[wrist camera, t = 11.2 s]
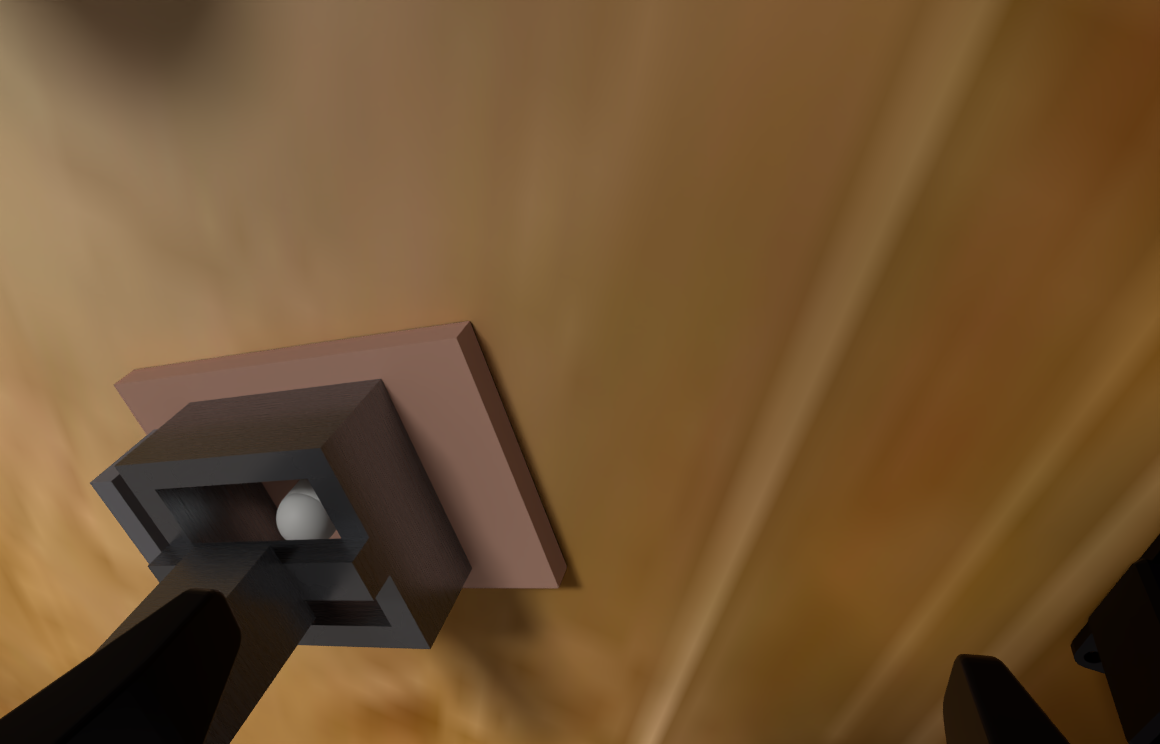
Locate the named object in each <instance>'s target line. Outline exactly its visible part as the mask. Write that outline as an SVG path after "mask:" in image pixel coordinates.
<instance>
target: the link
mask: <svg viewBox="0 0 1160 744" xmlns="http://www.w3.org/2000/svg"><path fill="white" fill-rule="evenodd" d="M114 467H115V468H116V469H117V471H118V472H119V474H120V475H121V476H122V478H123V479H124V481H125V482H126V484H127V485H128V486H129V488H130V489H131V491H132V492H133V493H134V495H135V496H136V498H137V499H138V500H139V502H140V503H141V505H142V506H143V508H144V509H145V510H146V512H147V513H148V515H149V516H150V517H151V519H152V520H153V522H154V523H155V524H156V526H157V527H158V529H159V530H160V532H161V533H162V534H163V536H164V537H165V539H166V540H167V541H168V543H169V545H168V546H167V547H166V548H165V549H164V550H163V551H162V552H161V553H160V554H159V555H158V556H157V557H156V558H155V559H154V560H153V561H152V562H151V563H150V564H149V565H148V567H149V569H150V570H151V572H152V573H153V574H154V576H155V577H156V578H157V580H158V581H159V582H160V583H159V584H158V585H157V586H156V588H155V589H154V590H153V591H152V592H151V593H150V594H149V595H148V596H147V597H146V598H145V599H144V600H143V601H142V602H141V604H140V605H139V606H138V607H137V608H136V609H135V610H134V611H133V612H132V613H131V614H130V615H129V616H128V617H127V618H126V620H125V621H124V622H123V623H122V624H121V625H120V626H119V627H118V628H117V629H116V630H115V631H114V632H113V633H112V634H111V636H110V637H109V638H108V639H107V640H106V641H105V642H104V643H103V644H102V645H101V646H100V647H99V648H98V649H97V650H96V652H97V651H98V650H100V649H101V648H103V647H104V646H106V645H107V644H108V643H110V642H111V641H113V640H114V639H116V638H117V637H119V636H120V635H121V634H123V633H124V632H126V631H127V630H129V629H130V628H131V627H133V626H134V625H136V624H137V623H139V622H140V621H141V620H143V619H144V618H146V617H147V616H149V615H150V614H152V613H153V612H154V611H156V610H157V609H159V608H160V607H162V606H163V605H164V604H166V603H167V602H169V601H170V600H172V599H173V598H175V597H176V596H177V595H179V594H180V593H182V592H184V591H185V590H188V589H191V588H204V589H215V590H219V591H220V592H222V593H223V594H224V596H225V597H226V599H227V601H228V603H229V605H230V608H231V610H232V612H233V614H234V616H235V618H236V620H237V622H238V624H239V626H240V629H241V634H242V637H241V645H240V649H239V652H238V655H237V657H236V660H235V663H234V665H233V668H232V671H231V673H230V676H229V678H228V681H227V684H226V686H225V689H224V692H223V694H222V697H221V700H220V702H219V705H218V708H217V710H216V713H215V715H214V718H213V721H212V723H211V726H210V729H209V731H208V734H207V737H206V739H205V742H204V744H230V742H231V741H232V739H233V738H234V736H235V735H236V733H237V732H238V731H239V729H240V728H241V726H242V725H243V723H244V722H245V720H246V719H247V717H248V716H249V715H250V713H251V712H252V710H253V709H254V707H255V706H256V704H257V703H258V702H259V700H260V699H261V697H262V696H263V694H264V693H265V691H266V690H267V688H268V687H269V686H270V684H271V683H272V681H273V680H274V678H275V677H276V675H277V674H278V673H279V671H280V670H281V668H282V667H283V665H284V664H285V662H286V661H287V659H288V658H289V657H290V655H291V654H292V652H293V651H294V649H295V648H296V646H297V645H317V646H348V647H380V648H412V649H431V647H432V645H433V643H434V641H435V639H436V637H437V635H438V634H439V632H440V630H441V628H442V626H443V624H444V622H445V620H446V618H447V616H448V614H449V612H450V610H451V608H452V606H453V605H454V603H455V601H456V599H457V597H458V595H459V593H460V591H461V589H462V587H463V585H464V583H465V581H466V579H467V578H468V576H469V574H470V572H471V570H472V567H471V565H470V563H469V561H468V559H467V556H466V554H465V552H464V550H463V548H462V546H461V544H460V542H459V540H458V538H457V536H456V533H455V531H454V529H453V527H452V525H451V523H450V521H449V519H448V517H447V515H446V513H445V510H444V508H443V506H442V504H441V502H440V500H439V498H438V496H437V494H436V492H435V490H434V487H433V485H432V483H431V481H430V479H429V477H428V475H427V473H426V471H425V469H424V467H423V465H422V462H421V460H420V458H419V456H418V454H417V452H416V450H415V448H414V446H413V444H412V442H411V439H410V437H409V435H408V433H407V431H406V429H405V427H404V425H403V423H402V421H401V419H400V416H399V414H398V412H397V410H396V408H395V406H394V404H393V402H392V400H391V398H390V396H389V393H388V391H387V389H386V387H385V385H384V383H383V381H382V379H374V380H366V381H358V382H350V383H342V384H334V385H326V386H318V387H310V388H302V389H294V390H286V391H278V392H270V393H262V394H254V395H246V396H238V397H230V398H222V399H214V400H206V401H198V402H190V403H189V404H187V405H186V406H185V407H184V408H183V409H181V410H180V411H179V412H178V413H177V414H176V415H174V416H173V417H172V418H171V419H170V420H168V421H167V422H166V423H165V424H164V425H162V426H161V427H160V428H159V429H158V430H156V431H155V432H154V433H153V434H152V435H150V436H149V437H148V438H147V439H146V440H145V441H143V442H142V443H141V444H140V445H139V446H137V447H136V448H135V449H134V450H133V451H131V452H130V453H129V454H128V455H127V456H125V457H124V458H123V459H122V460H121V461H119V462H118V463H117V464H116V465H115V466H114ZM297 479H308V481H309V482H310V484H311V486H312V488H313V489H314V491H315V493H316V495H317V496H318V498H319V500H320V502H321V503H322V505H323V507H324V509H325V510H326V512H327V514H328V516H329V517H330V519H331V521H332V523H333V524H334V526H335V528H336V530H337V531H338V533H339V535H340V537H341V538H339V539H308V540H286V539H284V537H283V536H282V535H281V534H280V532H279V530H278V527H277V523H276V514H277V510H278V509H277V507H276V505H275V504H274V502H273V501H272V499H271V497H270V496H269V494H268V492H267V491H266V489H265V487H264V486H263V484H262V482H269V481H283V480H297ZM96 652H95V653H96Z"/></svg>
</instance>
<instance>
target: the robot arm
mask: <svg viewBox="0 0 1160 744" xmlns="http://www.w3.org/2000/svg"><path fill="white" fill-rule="evenodd" d="M241 637H242V634H241V629H240V626H239V624H238V622H237V620H236V618H235V616H234V614H233V612H232V610H231V608H230V605H229V603H228V601H227V599H226V597H225V596H224V594H223V593H222V592H220V591H219V590H215V589H204V588H191V589H188V590H185V591H184V592H182V593H180V594H179V595H177V596H176V597H175V598H173V599H172V600H170V601H169V602H167V603H166V604H164V605H163V606H162V607H160V608H159V609H157V610H156V611H154V612H153V613H152V614H150V615H149V616H147V617H146V618H144V619H143V620H141V621H140V622H139V623H137V624H136V625H134V626H133V627H131V628H130V629H129V630H127V631H126V632H124V633H123V634H121V635H120V636H119V637H117V638H116V639H114V640H113V641H111V642H110V643H108V644H107V645H106V646H104V647H103V648H101V649H100V650H98V651H97V652H96V653H94V654H93V655H91V656H90V657H88V658H87V659H85V660H84V661H83V662H81V663H80V664H78V665H77V666H75V667H74V668H73V669H71V670H70V671H68V672H67V673H65V674H64V675H62V676H61V677H60V678H58V679H57V680H55V681H54V682H52V683H51V684H50V685H48V686H47V687H45V688H44V689H42V690H41V691H40V692H38V693H37V694H35V695H34V696H32V697H31V698H29V699H28V700H27V701H25V702H24V703H22V704H21V705H19V706H18V707H17V708H15V709H14V710H12V711H11V712H9V713H8V714H6V715H5V716H4V717H2V718H1V719H0V744H204V742H205V739H206V737H207V734H208V731H209V729H210V726H211V723H212V721H213V718H214V715H215V713H216V710H217V708H218V705H219V702H220V700H221V697H222V694H223V692H224V689H225V686H226V684H227V681H228V678H229V676H230V673H231V671H232V668H233V665H234V663H235V660H236V657H237V655H238V652H239V649H240V645H241ZM1071 648H1072V652H1073V656H1074V659H1075V661H1076V662H1077V663H1078V664H1079V665H1081V666H1083V667H1085V668H1088V669H1091V670H1095V671H1098V672H1101V673H1105V675H1106V678H1107V681H1108V684H1109V687H1110V690H1111V693H1112V697H1113V700H1114V703H1115V706H1116V709H1117V712H1118V715H1119V718H1120V721H1121V724H1122V728H1123V731H1124V734H1125V737H1126V740H1127V742H1128V743H1129V744H1160V534H1159V536H1158V537H1157V538H1156V539H1155V541H1154V542H1153V543H1152V544H1151V546H1150V547H1149V548H1148V549H1147V550H1146V552H1145V553H1144V554H1143V555H1142V557H1141V558H1140V559H1139V560H1138V561H1137V562H1135V563H1133V564H1132V565H1131V566H1130V568H1129V569H1128V570H1127V571H1126V573H1125V574H1124V575H1123V576H1122V578H1121V579H1120V580H1119V581H1118V582H1117V584H1116V585H1115V586H1114V587H1113V589H1112V590H1111V591H1110V592H1109V594H1108V595H1107V596H1106V597H1105V598H1104V600H1103V601H1102V602H1101V603H1100V605H1099V606H1098V607H1097V608H1096V610H1095V611H1094V612H1093V613H1092V614H1091V616H1090V617H1089V619H1088V623H1087V624H1086V625H1085V626H1084V628H1083V629H1082V630H1081V631H1080V633H1079V634H1078V635H1077V636H1076V637H1075V639H1074V640H1073V641H1072V644H1071ZM1092 651H1094V652H1092ZM943 718H944V726H945V734H946V741H947V744H1070V743H1069V742H1068V741H1067V739H1066V738H1065V737H1064V736H1063V734H1062V733H1061V732H1060V731H1059V730H1058V728H1057V727H1056V726H1055V725H1054V724H1053V722H1052V721H1051V720H1050V719H1049V718H1048V716H1047V715H1046V714H1045V713H1044V711H1043V710H1042V709H1041V708H1040V707H1039V705H1038V704H1037V703H1036V702H1035V701H1034V699H1033V698H1032V697H1031V696H1030V695H1029V693H1028V692H1027V691H1026V690H1025V688H1024V687H1023V686H1022V685H1021V684H1020V682H1019V681H1018V680H1017V679H1016V678H1015V676H1014V675H1013V674H1012V673H1011V672H1010V670H1009V669H1008V668H1007V667H1006V665H1005V664H1004V663H1003V662H1002V661H1000V660H999V659H997V658H996V657H992V656H983V655H972V654H960V655H959V656H958V657H957V658H956V659H955V661H954V664H953V668H952V671H951V675H950V678H949V682H948V685H947V688H946V692H945V695H944V701H943Z"/></svg>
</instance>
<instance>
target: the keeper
mask: <svg viewBox="0 0 1160 744" xmlns="http://www.w3.org/2000/svg"><path fill="white" fill-rule="evenodd" d="M374 379H382V381H383V383H384V385H385V387H386V389H387V391H388V393H389V396H390V398H391V400H392V402H393V404H394V406H395V408H396V410H397V412H398V414H399V416H400V419H401V421H402V423H403V425H404V427H405V429H406V431H407V433H408V435H409V437H410V439H411V442H412V444H413V446H414V448H415V450H416V452H417V454H418V456H419V458H420V460H421V462H422V465H423V467H424V469H425V471H426V473H427V475H428V477H429V479H430V481H431V483H432V485H433V487H434V490H435V492H436V494H437V496H438V498H439V500H440V502H441V504H442V506H443V508H444V510H445V513H446V515H447V517H448V519H449V521H450V523H451V525H452V527H453V529H454V531H455V533H456V536H457V538H458V540H459V542H460V544H461V546H462V548H463V550H464V552H465V554H466V556H467V559H468V561H469V563H470V565H471V567H472V570H471V572H470V574H469V576H468V578H467V579H466V581H465V583H464V585H463V587H462V588H559V587H560V584H561V581H562V579H563V576H564V574H565V571H566V568H567V566H566V563H565V561H564V558H563V556H562V553H561V551H560V548H559V545H558V543H557V540H556V538H555V535H554V533H553V530H552V528H551V525H550V523H549V520H548V518H547V515H546V513H545V510H544V508H543V505H542V503H541V500H540V497H539V495H538V492H537V490H536V487H535V485H534V482H533V480H532V477H531V475H530V472H529V470H528V467H527V465H526V462H525V460H524V457H523V454H522V452H521V449H520V447H519V444H518V442H517V439H516V437H515V434H514V432H513V429H512V427H511V424H510V422H509V419H508V417H507V414H506V411H505V409H504V406H503V404H502V401H501V399H500V396H499V394H498V391H497V389H496V386H495V384H494V381H493V379H492V376H491V374H490V371H489V368H488V366H487V363H486V361H485V358H484V356H483V353H482V351H481V348H480V346H479V343H478V341H477V338H476V336H475V333H474V331H473V328H472V326H471V323H470V321H466V322H459V323H453V324H446V325H439V326H432V327H425V328H418V329H411V330H404V331H397V332H391V333H384V334H377V335H370V336H363V337H356V338H349V339H342V340H335V341H329V342H322V343H315V344H308V345H301V346H294V347H287V348H280V349H273V350H267V351H260V352H253V353H246V354H239V355H232V356H225V357H218V358H212V359H205V360H198V361H191V362H184V363H177V364H170V365H163V366H156V367H150V368H143V369H136V370H133V371H132V372H130V373H129V374H128V375H126V376H125V377H123V378H122V379H121V380H119V381H118V382H117V383H115V384H114V386H115V388H116V389H117V391H118V392H119V394H120V395H121V397H122V398H123V400H124V401H125V403H126V404H127V406H128V407H129V409H130V410H131V412H132V413H133V415H134V416H135V418H136V419H137V421H138V422H139V424H140V425H141V427H142V428H143V430H144V431H145V433H146V434H147V436H145V437H144V438H143V439H142V440H141V441H139V442H138V443H137V444H136V445H135V446H133V447H132V448H131V449H130V450H129V451H127V452H126V453H125V454H124V455H123V456H121V457H120V458H119V459H118V460H117V461H116V462H114V463H113V464H112V465H111V466H110V467H108V468H107V469H106V470H105V471H104V472H102V473H101V474H100V475H99V476H98V477H96V478H95V479H94V480H93V481H92V482H90V484H91V485H92V487H93V488H94V489H95V491H96V492H97V493H98V495H99V496H100V497H101V499H102V500H103V502H104V503H105V504H106V506H107V507H108V508H109V510H110V511H111V513H112V514H113V515H114V517H115V518H116V519H117V521H118V522H119V523H120V525H121V526H122V528H123V529H124V530H125V532H126V533H127V534H128V536H129V537H130V539H131V540H132V541H133V543H134V544H135V545H136V547H137V548H138V549H139V551H140V552H141V554H142V555H143V556H144V558H145V559H146V560H147V562H148V563H149V564H150V563H151V562H152V561H153V560H154V559H155V558H156V557H157V556H158V555H159V554H160V553H161V552H162V551H163V550H164V549H165V548H166V547H167V546H168V545H169V543H168V541H167V540H166V539H165V537H164V536H163V534H162V533H161V532H160V530H159V529H158V527H157V526H156V524H155V523H154V522H153V520H152V519H151V517H150V516H149V515H148V513H147V512H146V510H145V509H144V508H143V506H142V505H141V503H140V502H139V500H138V499H137V498H136V496H135V495H134V493H133V492H132V491H131V489H130V488H129V486H128V485H127V484H126V482H125V481H124V479H123V478H122V476H121V475H120V474H119V472H118V471H117V469H116V468H115V467H114V466H115V465H116V464H117V463H118V462H119V461H121V460H122V459H123V458H124V457H125V456H127V455H128V454H129V453H130V452H131V451H133V450H134V449H135V448H136V447H137V446H139V445H140V444H141V443H142V442H143V441H145V440H146V439H147V438H148V437H149V436H150V435H152V434H153V433H154V432H155V431H156V430H158V429H159V428H160V427H161V426H162V425H164V424H165V423H166V422H167V421H168V420H170V419H171V418H172V417H173V416H174V415H176V414H177V413H178V412H179V411H180V410H181V409H183V408H184V407H185V406H186V405H187V404H189V403H190V402H198V401H206V400H214V399H222V398H230V397H238V396H246V395H254V394H262V393H270V392H278V391H286V390H294V389H302V388H310V387H318V386H326V385H334V384H342V383H350V382H358V381H366V380H374ZM262 484H263V486H264V487H265V489H266V491H267V492H268V494H269V496H270V497H271V499H272V501H273V502H274V504H275V505H276V507H277V509H278V510H277V514H276V523H277V527H278V530H279V532H280V534H281V535H282V536H283V537H284V539H286V540H308V539H339V538H341V537H340V535H339V533H338V531H337V530H336V528H335V526H334V524H333V523H332V521H331V519H330V517H329V516H328V514H327V512H326V510H325V509H324V507H323V505H322V503H321V502H320V500H319V498H318V496H317V495H316V493H315V491H314V489H313V488H312V486H311V484H310V482H309V481H308V479H297V480H283V481H269V482H262Z"/></svg>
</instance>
